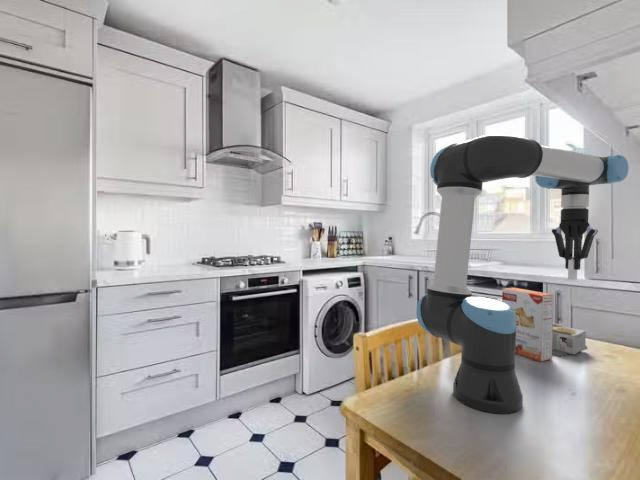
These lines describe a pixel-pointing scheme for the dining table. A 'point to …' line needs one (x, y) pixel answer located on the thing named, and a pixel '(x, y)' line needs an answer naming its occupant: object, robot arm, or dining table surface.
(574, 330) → the coffee box
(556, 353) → the mat
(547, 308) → the cracker box
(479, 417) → the dining table surface
